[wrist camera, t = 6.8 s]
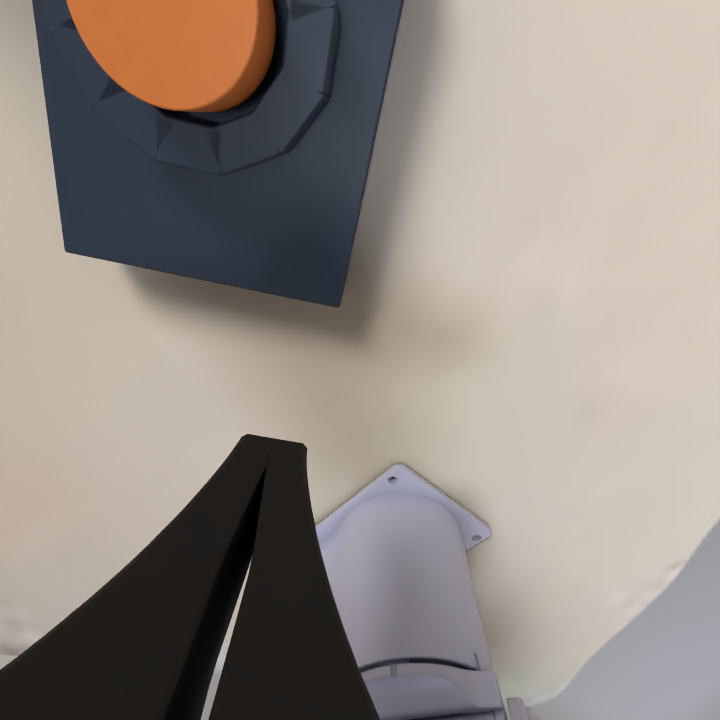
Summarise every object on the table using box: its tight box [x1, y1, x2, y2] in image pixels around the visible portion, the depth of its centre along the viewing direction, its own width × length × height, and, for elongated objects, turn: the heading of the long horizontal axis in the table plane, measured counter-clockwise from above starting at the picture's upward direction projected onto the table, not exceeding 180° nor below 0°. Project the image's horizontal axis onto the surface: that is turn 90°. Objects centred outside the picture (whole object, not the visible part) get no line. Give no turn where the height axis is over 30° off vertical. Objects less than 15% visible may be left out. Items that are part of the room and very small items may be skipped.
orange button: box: [66, 0, 276, 113], centre depth 10 cm, size 4×4×2 cm
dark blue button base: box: [32, 0, 404, 308], centre depth 13 cm, size 12×10×4 cm
